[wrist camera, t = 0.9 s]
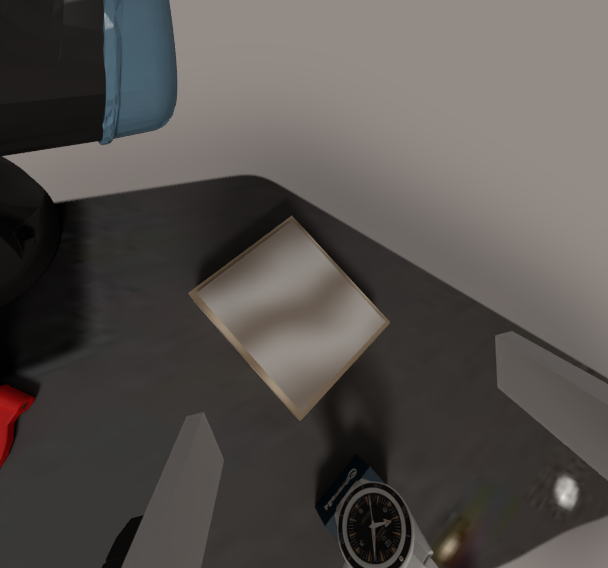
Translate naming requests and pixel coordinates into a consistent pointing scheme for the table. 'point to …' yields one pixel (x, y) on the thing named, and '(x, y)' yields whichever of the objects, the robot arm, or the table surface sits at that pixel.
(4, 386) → the tow hook
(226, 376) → the table surface
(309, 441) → the table surface
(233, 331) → the plate
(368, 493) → the watch
